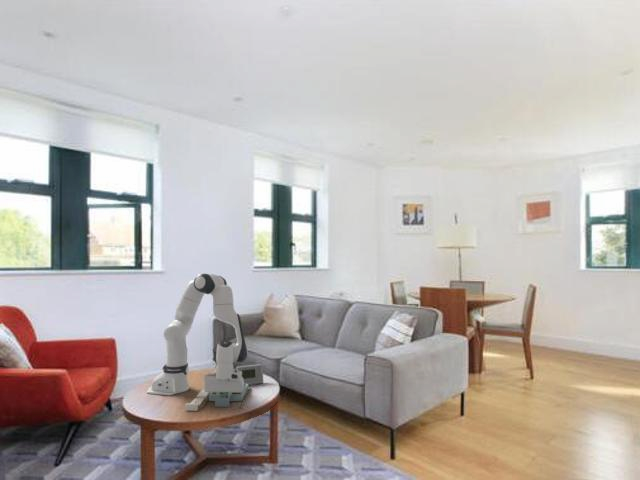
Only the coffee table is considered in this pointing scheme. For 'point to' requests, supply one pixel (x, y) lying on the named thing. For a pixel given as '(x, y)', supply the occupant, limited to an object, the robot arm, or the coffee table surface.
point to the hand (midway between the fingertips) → (224, 400)
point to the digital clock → (252, 374)
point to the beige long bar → (196, 401)
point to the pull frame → (225, 401)
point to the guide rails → (240, 406)
